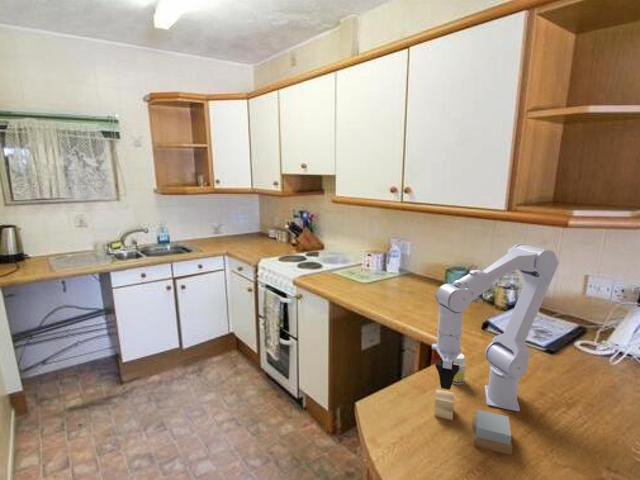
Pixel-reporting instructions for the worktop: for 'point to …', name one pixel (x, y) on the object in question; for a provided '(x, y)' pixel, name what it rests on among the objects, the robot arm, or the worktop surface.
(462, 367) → the supplement bottle
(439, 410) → the oak block
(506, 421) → the slate slab
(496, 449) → the walnut slab
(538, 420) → the worktop surface
